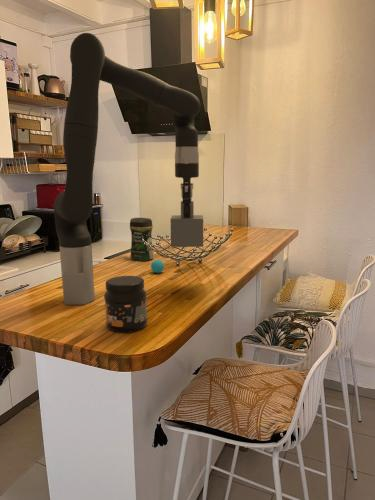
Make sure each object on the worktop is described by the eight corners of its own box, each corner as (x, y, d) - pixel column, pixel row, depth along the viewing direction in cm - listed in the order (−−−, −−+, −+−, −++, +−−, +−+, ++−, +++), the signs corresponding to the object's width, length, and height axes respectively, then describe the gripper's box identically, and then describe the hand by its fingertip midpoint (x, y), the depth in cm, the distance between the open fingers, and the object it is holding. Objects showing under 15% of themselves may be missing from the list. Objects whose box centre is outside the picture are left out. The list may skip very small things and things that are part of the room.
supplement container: (97, 325, 101) (95, 280, 98) (131, 315, 108) (129, 272, 106) (122, 337, 93) (119, 289, 91) (156, 325, 101) (154, 280, 98)
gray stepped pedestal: (203, 246, 124) (203, 202, 121) (170, 246, 124) (170, 202, 122) (202, 241, 134) (202, 200, 131) (172, 241, 134) (172, 200, 132)
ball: (163, 274, 149) (163, 261, 148) (150, 274, 149) (150, 261, 148) (164, 271, 154) (164, 258, 153) (151, 271, 154) (151, 258, 153)
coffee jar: (128, 260, 173) (126, 218, 169) (138, 256, 180) (136, 216, 176) (146, 262, 169) (145, 219, 165) (156, 258, 176) (155, 217, 172)
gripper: (176, 162, 131) (176, 214, 134) (173, 161, 117) (174, 219, 121) (198, 162, 131) (198, 214, 134) (198, 161, 117) (198, 219, 120)
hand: (187, 216), depth 127 cm, fingers closed on gray stepped pedestal, 4 cm apart
